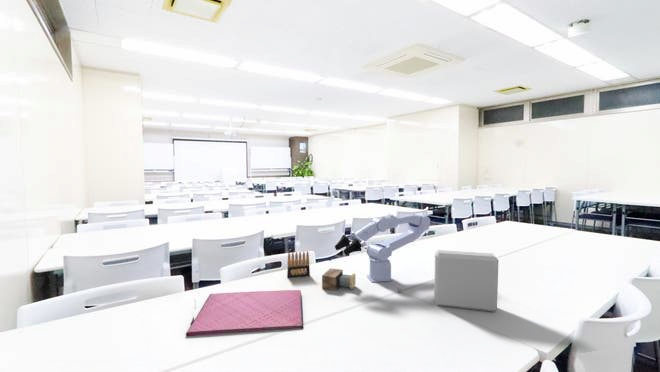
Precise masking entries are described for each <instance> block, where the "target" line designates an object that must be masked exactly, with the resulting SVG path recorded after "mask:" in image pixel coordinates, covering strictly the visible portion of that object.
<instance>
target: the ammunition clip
mask: <svg viewBox="0 0 660 372" xmlns="http://www.w3.org/2000/svg"><path fill="white" fill-rule="evenodd" d="M309 256H310V255H309V251H308V250H307V251H306V253H305V251H302V253H301V251H299V253H298V252H297V251H296V252H295V254H294V252H293V251H292V253H290V252H288V254H287V262H286V263H287V271H286V272H287V273H286V274H287V276H286V277H287V278H288V279H292V278H306V277H311V271H310V269H311V268H310V257H309Z"/></svg>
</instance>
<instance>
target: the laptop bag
mask: <svg viewBox="0 0 660 372" xmlns="http://www.w3.org/2000/svg"><path fill="white" fill-rule="evenodd" d="M302 300H303V299H302V292H301V290H300V289H287V290H286V289H284V290H265V291H264V290H261V291H260V290H259V291H238V292H219V293H217V292H216V293H210V294H209V295H208V297H207V299H206V300H205V302H204V303H203V305H202V307H201V308H200V311H199V312H198V313H197V314H196V316H195V317H194V316H193V317H192V319H191V322H190V324H189V325H190V326H189V328H188V329H187V331H186V333H185V336H186V337H192V336H193V337H194V336H201V335H213V334H224V333H225V334H226V333H237V332H246V331H247V332H249V331H261V330H262V331H263V330H265V331H266V330H279V329H291V328H292V329H293V328H294V329H295V328H298V329H299V328H302V329H304V319H303V318H304V316H303V301H302ZM194 301H196V300H195V299H194ZM196 305H197V304H196V302H195V305H194V306H196ZM196 308H197V307H194V310H196Z"/></svg>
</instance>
